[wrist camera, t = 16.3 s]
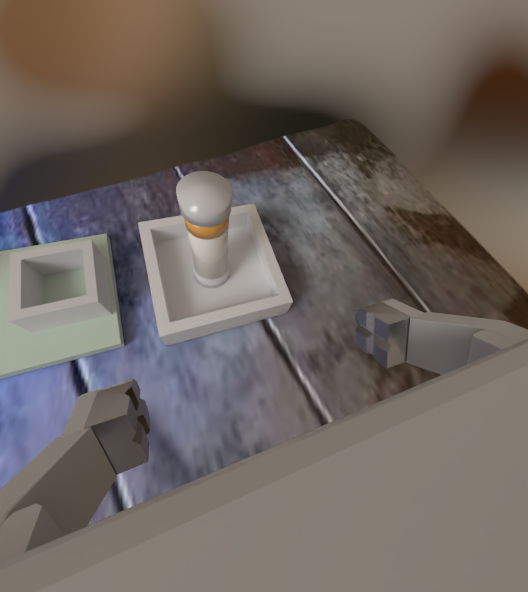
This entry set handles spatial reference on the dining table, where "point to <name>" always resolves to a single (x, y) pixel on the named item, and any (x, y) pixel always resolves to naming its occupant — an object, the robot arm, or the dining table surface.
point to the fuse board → (57, 304)
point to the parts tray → (212, 301)
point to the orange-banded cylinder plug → (207, 224)
